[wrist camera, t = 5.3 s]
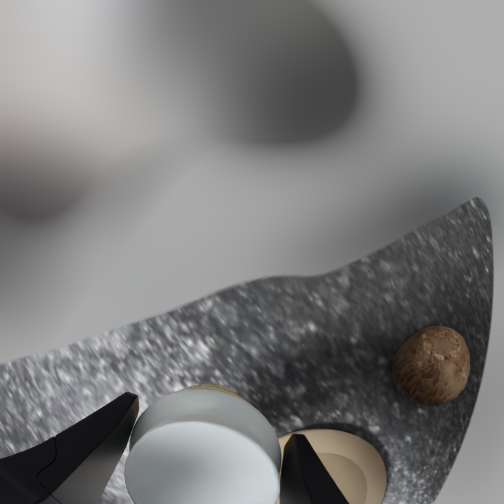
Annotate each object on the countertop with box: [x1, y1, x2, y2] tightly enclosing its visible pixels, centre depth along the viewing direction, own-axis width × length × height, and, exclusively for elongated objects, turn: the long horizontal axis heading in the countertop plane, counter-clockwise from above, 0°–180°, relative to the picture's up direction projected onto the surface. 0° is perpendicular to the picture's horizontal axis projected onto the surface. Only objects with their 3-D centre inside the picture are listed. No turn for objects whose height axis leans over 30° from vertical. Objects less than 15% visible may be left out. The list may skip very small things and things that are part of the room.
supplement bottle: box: [124, 384, 282, 504], centre depth 9 cm, size 5×5×10 cm
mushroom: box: [392, 325, 470, 406], centre depth 18 cm, size 8×8×6 cm
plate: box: [277, 429, 387, 504], centre depth 14 cm, size 14×14×1 cm
